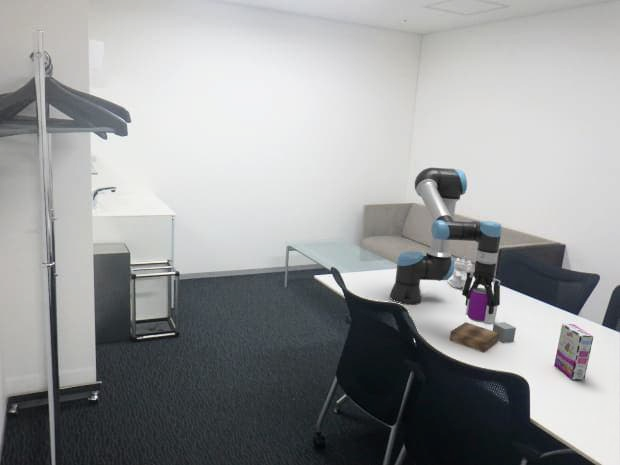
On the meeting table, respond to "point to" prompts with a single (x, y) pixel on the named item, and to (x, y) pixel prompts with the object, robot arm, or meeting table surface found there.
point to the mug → (493, 315)
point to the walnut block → (474, 336)
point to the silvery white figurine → (460, 273)
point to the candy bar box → (573, 351)
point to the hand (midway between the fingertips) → (477, 317)
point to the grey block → (504, 332)
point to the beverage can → (478, 305)
